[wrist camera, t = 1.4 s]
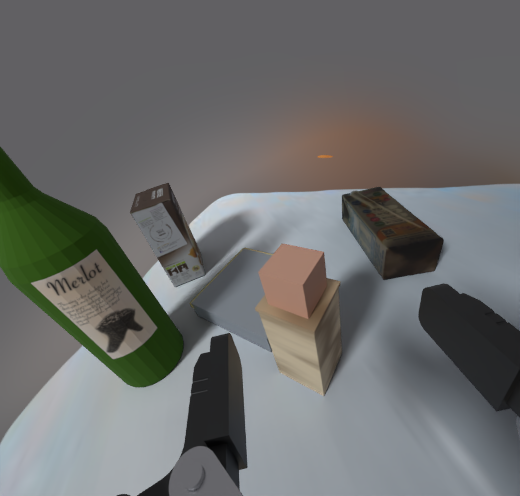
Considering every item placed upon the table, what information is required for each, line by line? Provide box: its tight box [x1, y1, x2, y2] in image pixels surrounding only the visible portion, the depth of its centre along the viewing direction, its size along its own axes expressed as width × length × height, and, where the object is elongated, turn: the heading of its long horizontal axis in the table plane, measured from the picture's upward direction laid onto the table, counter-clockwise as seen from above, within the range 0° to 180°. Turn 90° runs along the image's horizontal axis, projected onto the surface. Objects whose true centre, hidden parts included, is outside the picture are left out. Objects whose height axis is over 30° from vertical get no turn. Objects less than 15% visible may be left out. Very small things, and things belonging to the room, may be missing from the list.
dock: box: [189, 248, 273, 352], centre depth 39 cm, size 14×14×3 cm
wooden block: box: [255, 278, 342, 396], centre depth 26 cm, size 6×6×12 cm
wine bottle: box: [0, 147, 183, 387], centre depth 26 cm, size 9×9×32 cm
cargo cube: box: [258, 244, 327, 319], centre depth 22 cm, size 4×4×4 cm
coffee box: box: [130, 183, 205, 287], centre depth 46 cm, size 9×6×16 cm
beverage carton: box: [342, 187, 444, 280], centre depth 42 cm, size 8×19×7 cm, turn 4°
